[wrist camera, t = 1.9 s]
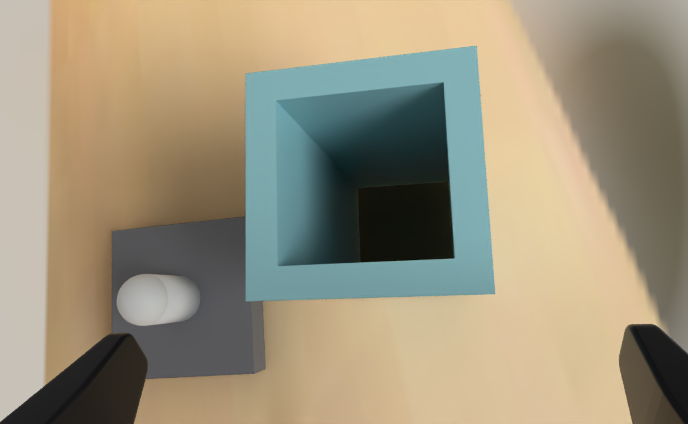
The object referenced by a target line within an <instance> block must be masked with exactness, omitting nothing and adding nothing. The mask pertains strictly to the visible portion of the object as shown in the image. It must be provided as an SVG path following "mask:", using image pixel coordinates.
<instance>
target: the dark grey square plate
mask: <svg viewBox="0 0 688 424" xmlns="http://www.w3.org/2000/svg"><path fill="white" fill-rule="evenodd" d="M112 333H130V334H131V335H133V336H134V338H135V339H136V341H137V343H138V344H139V346H140V348H141V349H142V351H143V352H144V354H145V356H146V358H147V361H148V371H147V375H146V379H154V378H175V377H196V376H216V375H237V374H255V373H257V372H260V371H262V370H264V369H265V348H264V326H263V305H262V301H246V217H236V218H227V219H218V220H209V221H200V222H191V223H181V224H172V225H163V226H154V227H145V228H136V229H126V230H117V231H112Z"/></svg>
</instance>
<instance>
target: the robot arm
mask: <svg viewBox="0 0 688 424" xmlns="http://www.w3.org/2000/svg"><path fill="white" fill-rule="evenodd" d="M619 366H620V372H621V376H622V380H623V385H624V389H625V393H626V397H627V402H628V406H629V410H630V415H631V419H632V423H633V424H688V353H687V352H686V351H684V350H683V349H682V348H681V347H680V346H679V345H678V344H677V343H676V342H675V341H673V340H672V339H671V338H670V337H669V336H668V335H667V334H666V333H665V332H664V331H662V330H661V329H660V328H659V327H657V326H656V325H653V324H631V325H628V326H627V327H626V329H625V332H624V337H623V341H622V346H621V350H620V355H619ZM147 371H148V361H147V358H146V356H145V354H144V352H143V351H142V349H141V348H140V346H139V344H138V343H137V341H136V339H135V338H134V336H133V335H131V334H130V333H112V334H109V335H107V336H106V337H104V338H103V339H102V340H101V341H99V342H98V343H97V344H96V345H94V346H93V347H92V348H91V349H90V350H88V351H87V352H86V353H85V354H83V355H82V356H81V357H80V358H78V359H77V360H76V361H75V362H74V363H72V364H71V365H70V366H69V367H67V368H66V369H65V370H64V371H62V372H61V373H60V374H59V375H58V376H56V377H55V378H54V379H53V380H51V381H50V382H49V383H48V384H46V385H45V386H44V387H43V388H42V389H40V390H39V391H38V392H37V393H36V394H34V395H33V396H32V397H30V398H29V399H28V400H27V401H26V402H24V403H23V404H22V405H21V406H19V407H18V408H17V409H16V410H14V411H13V412H12V413H11V414H10V415H8V416H7V417H6V418H5V419H3V420H2V421H1V422H0V424H134V421H135V417H136V413H137V409H138V406H139V402H140V398H141V394H142V390H143V387H144V383H145V379H146V375H147Z"/></svg>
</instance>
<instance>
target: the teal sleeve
mask: <svg viewBox="0 0 688 424" xmlns="http://www.w3.org/2000/svg"><path fill="white" fill-rule="evenodd" d="M437 182H448V183H449V199H450V215H451V231H452V246H453V259H433V260H409V261H386V262H363V263H360V239H359V210H358V188H367V187H381V186H395V185H409V184H423V183H437ZM481 294H495V286H494V272H493V259H492V246H491V232H490V219H489V206H488V192H487V179H486V166H485V152H484V139H483V126H482V112H481V99H480V85H479V72H478V59H477V46H470V47H462V48H454V49H445V50H437V51H429V52H420V53H412V54H404V55H396V56H387V57H379V58H371V59H363V60H354V61H346V62H338V63H329V64H321V65H313V66H305V67H296V68H288V69H280V70H271V71H263V72H255V73H247V74H246V301H275V300H309V299H344V298H378V297H412V296H447V295H481Z"/></svg>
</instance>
